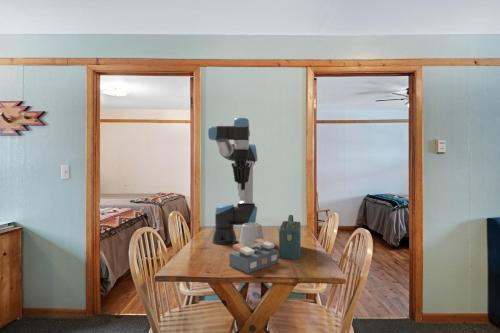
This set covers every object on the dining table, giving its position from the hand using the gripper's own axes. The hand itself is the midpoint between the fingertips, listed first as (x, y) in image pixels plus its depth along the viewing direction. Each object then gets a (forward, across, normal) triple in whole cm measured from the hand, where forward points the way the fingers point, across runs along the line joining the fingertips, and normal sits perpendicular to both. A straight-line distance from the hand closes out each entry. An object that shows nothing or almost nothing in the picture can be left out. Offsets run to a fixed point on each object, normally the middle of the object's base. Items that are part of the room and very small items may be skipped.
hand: (241, 196), depth 134 cm
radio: (+33, +7, +31) cm, 46 cm away
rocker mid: (+25, +7, +2) cm, 26 cm away
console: (+32, +7, +2) cm, 33 cm away
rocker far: (+25, +7, +9) cm, 27 cm away
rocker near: (+25, +7, -5) cm, 26 cm away
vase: (+33, -9, +16) cm, 38 cm away
